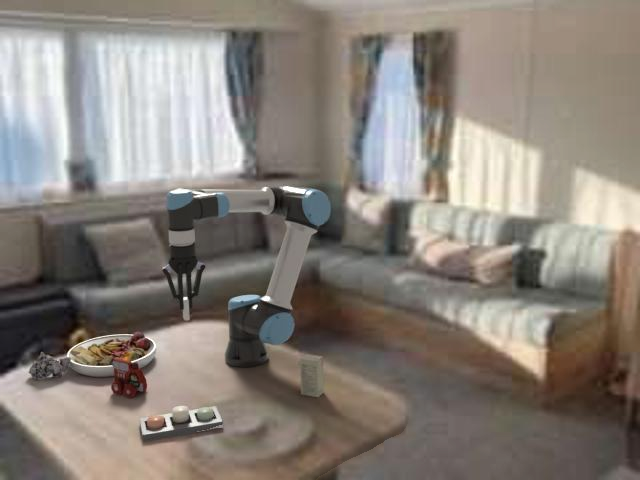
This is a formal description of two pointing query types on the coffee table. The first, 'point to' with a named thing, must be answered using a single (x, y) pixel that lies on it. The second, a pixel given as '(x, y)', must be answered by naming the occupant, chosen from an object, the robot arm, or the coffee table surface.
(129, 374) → the toy fire truck
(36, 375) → the mineral specimen
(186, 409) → the button cream
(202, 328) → the coffee table surface
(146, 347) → the bowl
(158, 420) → the button terracotta
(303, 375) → the skincare box
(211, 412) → the button sage
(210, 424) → the frame
